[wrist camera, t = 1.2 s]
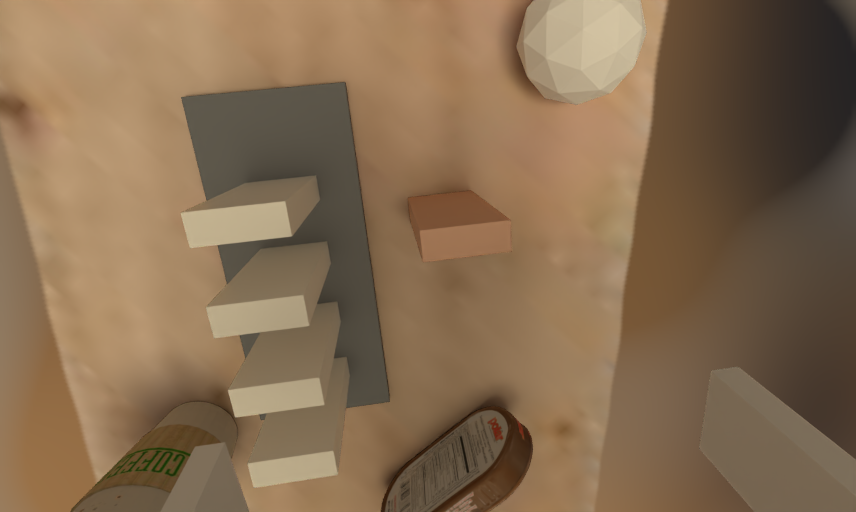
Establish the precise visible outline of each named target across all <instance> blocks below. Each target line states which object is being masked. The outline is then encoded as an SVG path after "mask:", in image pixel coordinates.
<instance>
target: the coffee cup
mask: <svg viewBox="0 0 856 512" xmlns="http://www.w3.org/2000/svg"><path fill="white" fill-rule="evenodd" d="M237 435H238V431H237V426H236V424H235V421H234V420H233V418H232V417H231V415H229V414H228V413H227V412H226V411H225V410H224V409H222V408H221V407H219V406H216V405H214V404H211V403H207V402H199V401H198V402H189V403H184V404H182V405H179V406H177V407H176V408H174V409H173V410H172V411H171V412H170V413H169V414H168V415H167V416H166V417H165V418H164V419H163V420H162V421H161V422H160V423H159V424H158V425H157V426H156V427H155V428H154V429H153V430H152V431H151V432H149V433H148V434H146V435H145V436H144V437H143V438H142V439H141V440H140V441H139V442H138V443H137V444H136V445H135V446H134V447H133V448H132V449H131V450H130V451H129V452H128V453H127V454H126V455H125V456H124V457H123V458H122V459H121V460H120V461H119V462H118V463H117V464H116V465H115V466H114V467H113V468H112V469H111V470H110V471H109V472H108V473H107V474H106V475H105V476H104V477H103V478H102V479H101V480H100V481H99V482H98V483H97V484H96V485H95V486H94V487H93V488H92V489H91V490H90V491H89V492H88V493H87V494H86V495H85V496H84V497H83V498H82V499H81V500H80V501H79V502H78V503H77V504H76V505H75V506H74V507H73V508H72V510H71V512H161V510H162V508H163V506H164V504H165V502H166V500H167V498H168V497H169V495H170V493H171V491H172V489H173V487H174V485H175V483H176V482H177V480H178V478H179V476H180V474H181V472H182V470H183V468H184V467H185V465H186V463H187V461H188V459H189V457H190V455H191V453H192V451H193V450H194V448H195V447H196V446H203V445H210V444H217V443H223V442H225V444H226V446H227V449H228V452H229V455H230V458H232V455H233V451H234V448H235V444H236V441H237Z"/></svg>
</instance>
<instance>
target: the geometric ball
mask: <svg viewBox="0 0 856 512" xmlns="http://www.w3.org/2000/svg"><path fill="white" fill-rule="evenodd" d="M646 33H647V32H646V26H645V21H644V16H643V11H642V5H641V0H533V1H532V3H531V4H530V5H529V6H528V7H527V9H526V13H525V17H524V20H523V24H522V28H521V31H520V35H519V39H518V42H517V46H516V48H517V50H518V53H519V56H520V59H521V61H522V64H523V67H524V70H525V72H526V75H527V77H528V78H529V80H530V81H531V82H532V83H533V84H534V86H535V87H536V88H537V89H538V90H539V92H540V93H541V94H542V95H543V96H544V98H547V99H551V100H556V101H561V102H565V103H570V104H575V105H578V104H581V103H584V102H587V101H590V100H592V99H595V98H598V97H601V96H604V95H607V94H609V93H611V92H612V91H613V90H614V89H615V88H616V87H617V86H618V84H619V83H620V82H621V81H622V80H623V79H624V78H625V77H626V75H627V74H628V73H629V72H630V71H631V70H632V69H633V68H634V66H635V63H636V61H637V58H638V55H639V52H640V50H641V47H642V44H643V41H644V38H645V36H646Z"/></svg>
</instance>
